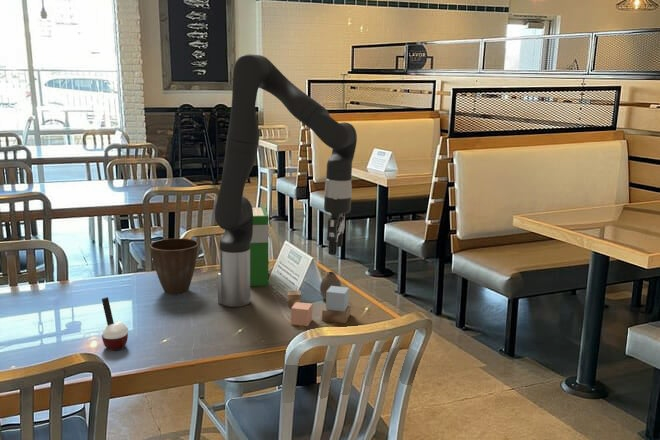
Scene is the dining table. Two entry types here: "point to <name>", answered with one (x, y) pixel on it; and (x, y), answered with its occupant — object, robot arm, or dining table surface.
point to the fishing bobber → (113, 330)
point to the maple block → (293, 297)
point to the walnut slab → (336, 315)
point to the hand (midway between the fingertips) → (335, 250)
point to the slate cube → (337, 298)
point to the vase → (329, 283)
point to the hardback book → (259, 248)
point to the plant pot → (174, 263)
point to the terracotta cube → (301, 314)
